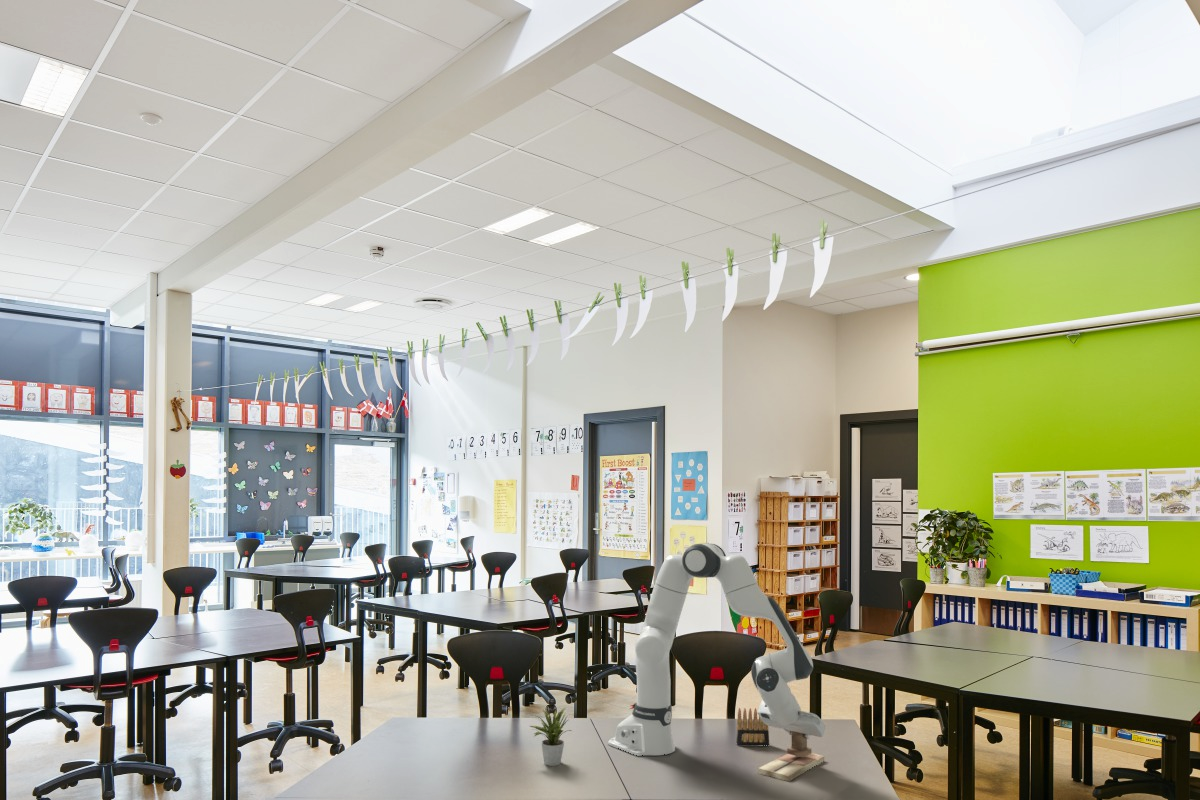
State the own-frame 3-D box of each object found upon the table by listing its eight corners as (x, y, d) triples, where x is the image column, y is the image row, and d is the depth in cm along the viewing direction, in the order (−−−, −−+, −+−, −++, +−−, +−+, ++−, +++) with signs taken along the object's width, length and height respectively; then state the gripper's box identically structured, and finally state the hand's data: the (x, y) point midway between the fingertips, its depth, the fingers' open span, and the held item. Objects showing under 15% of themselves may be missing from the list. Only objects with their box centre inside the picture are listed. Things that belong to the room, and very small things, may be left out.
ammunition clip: (768, 744, 281) (768, 707, 282) (769, 746, 279) (769, 709, 280) (736, 744, 281) (736, 707, 282) (737, 745, 279) (737, 708, 281)
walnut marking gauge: (787, 753, 263) (787, 717, 264) (795, 749, 267) (795, 713, 268) (803, 757, 259) (803, 720, 260) (811, 753, 264) (811, 717, 265)
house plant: (541, 751, 270) (542, 699, 272) (581, 757, 266) (582, 704, 267) (522, 765, 257) (523, 710, 258) (564, 771, 252) (565, 715, 254)
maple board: (758, 773, 253) (758, 767, 253) (795, 754, 271) (795, 748, 272) (788, 781, 247) (788, 775, 247) (824, 761, 265) (824, 755, 265)
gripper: (820, 706, 253) (834, 733, 259) (759, 694, 266) (774, 720, 273) (813, 725, 249) (828, 751, 256) (752, 712, 262) (768, 737, 269)
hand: (800, 735), depth 264 cm, fingers closed on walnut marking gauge, 3 cm apart
